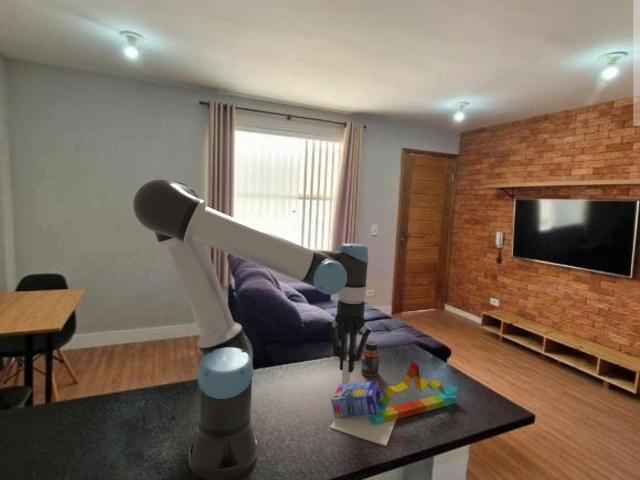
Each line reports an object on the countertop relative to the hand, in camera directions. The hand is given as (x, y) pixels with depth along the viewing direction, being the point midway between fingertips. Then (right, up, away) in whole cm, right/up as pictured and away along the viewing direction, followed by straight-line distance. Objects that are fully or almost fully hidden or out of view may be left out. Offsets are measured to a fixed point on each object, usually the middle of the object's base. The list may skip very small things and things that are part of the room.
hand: (345, 381), depth 98 cm
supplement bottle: (+10, -8, +26) cm, 29 cm away
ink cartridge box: (-3, -6, +3) cm, 7 cm away
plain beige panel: (+5, -10, -2) cm, 11 cm away
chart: (+20, -10, +4) cm, 23 cm away
